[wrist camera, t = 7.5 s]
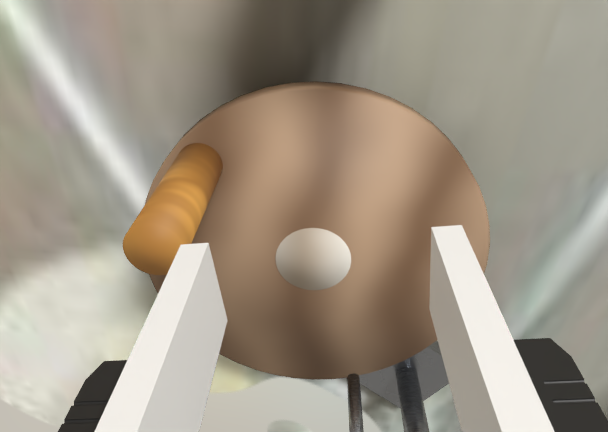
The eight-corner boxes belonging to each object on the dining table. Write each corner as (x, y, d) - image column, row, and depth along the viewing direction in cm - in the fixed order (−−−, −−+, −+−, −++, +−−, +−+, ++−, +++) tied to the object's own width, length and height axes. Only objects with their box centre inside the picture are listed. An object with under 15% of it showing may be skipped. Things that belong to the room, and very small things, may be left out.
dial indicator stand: (460, 356, 38) (525, 570, 25) (404, 396, 40) (439, 608, 28) (360, 288, 35) (378, 491, 22) (307, 335, 37) (296, 542, 25)
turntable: (515, 82, 25) (609, 161, 16) (454, 366, 35) (494, 502, 27) (121, 79, 25) (22, 153, 17) (174, 357, 36) (127, 487, 27)
